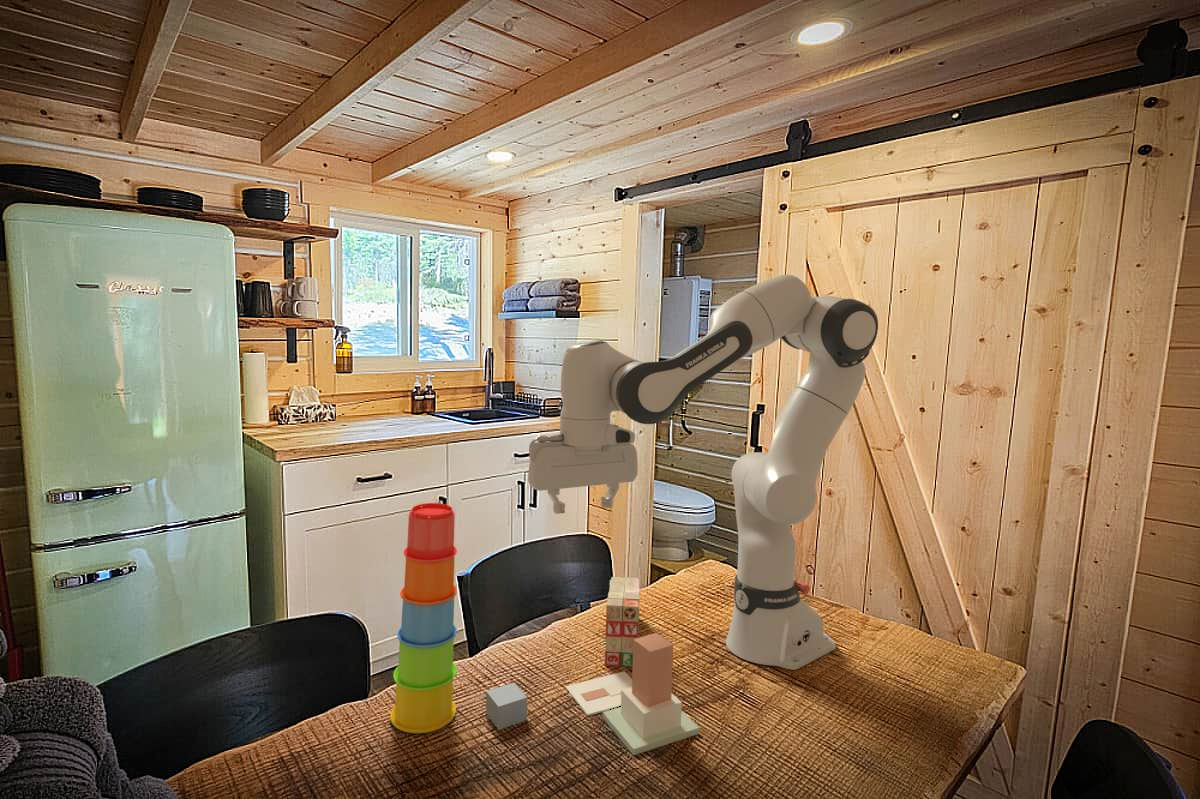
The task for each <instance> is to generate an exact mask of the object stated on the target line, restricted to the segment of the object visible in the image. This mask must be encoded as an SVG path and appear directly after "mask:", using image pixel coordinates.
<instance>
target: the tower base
mask: <svg viewBox="0 0 1200 799" xmlns="http://www.w3.org/2000/svg"><path fill="white" fill-rule="evenodd" d="M682 706H683V702H682V701H681V700H680V699H679V698H678V697H677V696H675V694H673V693H672V696H671V699H670V700H668V701H665V702H662V703H660V704H657V705H654V706H651V707H649V708H648V707H647V706H646V705H645V704H644V703H643V702H641V701H640V700H639V699H638V698H637V697H636V696H635V695H633V694H632V687H630V688H627V689H623V690H621V707H618V708H614V709H611V710H607V711H604V712H602V719H603V720H604V722H605V723H606V724H607V725H608V726H609V728H610V729H611V730H612V732H613V733H615V735H616V736H617V738H619V740H620V741H621V742H622V744H623V745H624V746H625V747H626V749H628V751H629V752H630V753H631V755H632V756H636V755H639V754H641V753H644V752H648V751H651V750H654V749H657V748H660V747H663V746H666V745H670V744H672V743H675V742H678V741H681V740H684V739H688V738H690V737H694V736H696V735H699V734H700V728H701V727H700V726H698V724H696V722H694V720H693V719H691V718H690V717H689V716H688V715H687V714H686V713H685V712H684V711H683V710H682Z"/></svg>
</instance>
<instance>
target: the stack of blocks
mask: <svg viewBox="0 0 1200 799" xmlns="http://www.w3.org/2000/svg"><path fill="white" fill-rule="evenodd" d="M639 579H640V578H639V577H615V576H611V579H609V588H608V590H609V591H608V592H607V593H608V594H607V600H606V612H605V620H606V621H605V648H604V649H605V650H604V666H605V665H606V666H605V667H618V666H620V667H621V668H624V667H625V668H633V639H637V638H639V635H640V634H639V632H640V631H639V628H640V626H639V624H640V604H641V603H640V600H641V598H640V595H641V594H640V593H641V592H640V580H639Z"/></svg>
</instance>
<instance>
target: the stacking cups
mask: <svg viewBox="0 0 1200 799" xmlns="http://www.w3.org/2000/svg"><path fill="white" fill-rule="evenodd" d="M455 518H456V517H455V511H454V510H453V507H452V506H450V505H448V504H446V503H445V504H444V503H440V502H439V503H437V502H434V503H433V502H429V503H428V502H427V503H421V504H416V505H414V506H412V508H411V510H410V511H409V513H408V524H407V526H408V527H407V541H406V542H407V544H406V545H407V546H406V548H404V550H403V555H404V557H405V568H404V569H405V570H404V571H405V572H404V584H403V585H404V586H403V587H402V588H401V590H400V598H401V599H402V608H401V626H400V628H399V629H398V630H397V634H396V635H397V636H396V637H397V640H398V642H399V644H398V645H399V648H398V649H399V650H398V666H397V667H396V668H395V670H394V672H393V680H394V682H395V683H396V684H395V699H394V700H395V704H394V706H393V708H392V709H391V711H390V715H389V716H390V717H389V718H390V722H391V723H392V726H394V727H395V728H396V729H397V730H399V731H401V732H405V733H407V734H408V733H409V734H427V733H428V734H429V733H432V732H434V731H437V730H440V729H442V728H444V727H446V726H447V725H448V724H449V723H450V722H452V720H453V719H454V717H455V716H456V712H457V706H456V703H455V702H454V700H453V680H454V679H455V677H456V675H457V671H458V670H457V666H456V664H455V663H454V639H455V637H456V636H457V633H458V632H457V627H456V625H455V624H454V620H455V619H454V618H455V617H454V615H455V597H456V595H457V593H458V588H457V586H455V585H454V584H455V582H454V581H455V557H456V554H457V552H458V550H457V547H456V546H455Z"/></svg>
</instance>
